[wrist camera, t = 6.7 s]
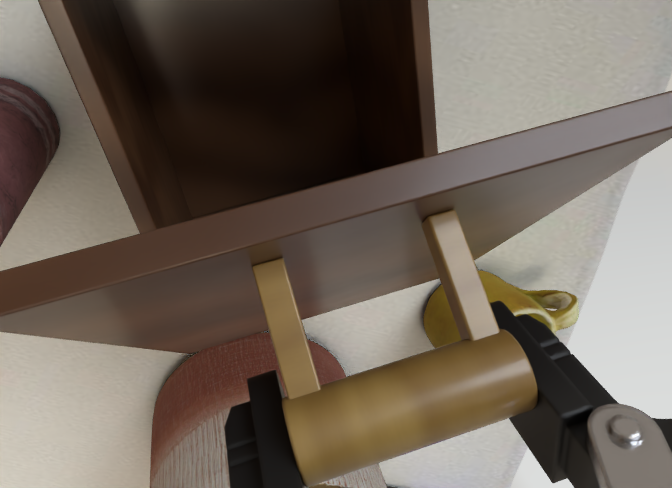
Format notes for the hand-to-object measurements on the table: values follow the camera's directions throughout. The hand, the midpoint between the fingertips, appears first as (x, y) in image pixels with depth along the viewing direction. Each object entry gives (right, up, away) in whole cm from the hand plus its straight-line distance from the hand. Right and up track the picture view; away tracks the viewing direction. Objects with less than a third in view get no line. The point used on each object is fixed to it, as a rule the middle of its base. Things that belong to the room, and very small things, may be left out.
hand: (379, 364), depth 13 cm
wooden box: (-7, +14, +21) cm, 26 cm away
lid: (-1, +2, +6) cm, 6 cm away
